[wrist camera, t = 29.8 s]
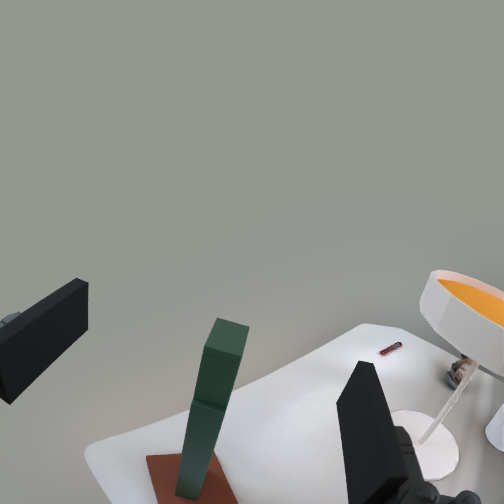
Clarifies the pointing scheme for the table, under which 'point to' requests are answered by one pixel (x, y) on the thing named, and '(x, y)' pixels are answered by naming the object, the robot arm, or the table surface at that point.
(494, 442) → the bottle
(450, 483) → the table surface
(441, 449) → the white stemmed bowl
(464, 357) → the bison figurine
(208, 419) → the green block with loop
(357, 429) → the robot arm
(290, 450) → the table surface
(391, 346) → the pen
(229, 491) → the cork pad
